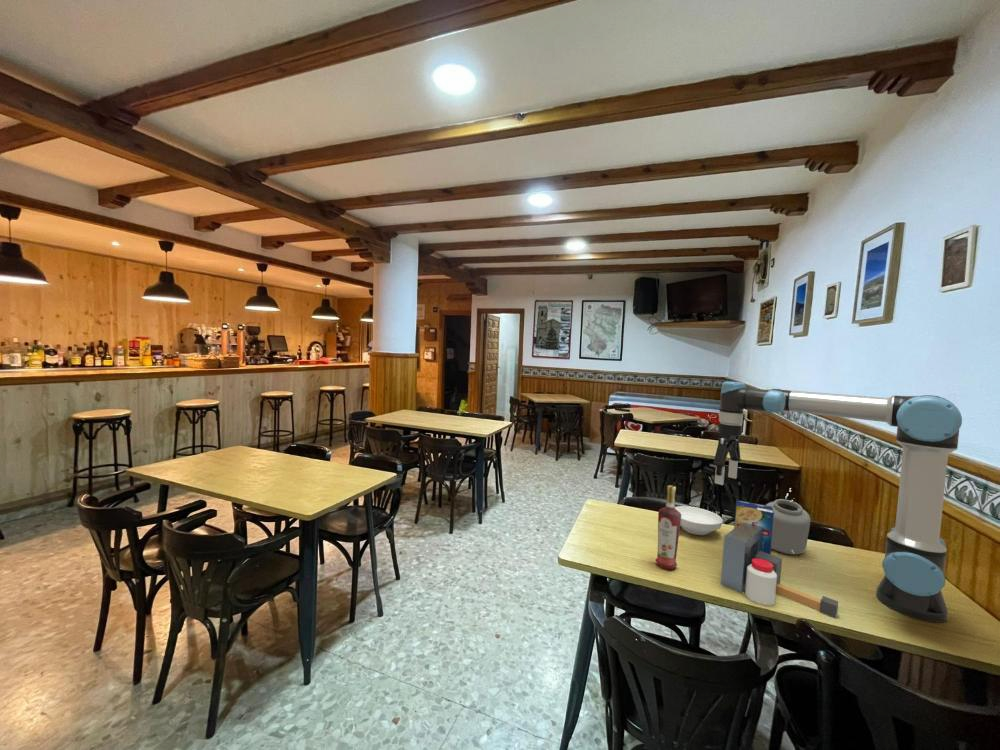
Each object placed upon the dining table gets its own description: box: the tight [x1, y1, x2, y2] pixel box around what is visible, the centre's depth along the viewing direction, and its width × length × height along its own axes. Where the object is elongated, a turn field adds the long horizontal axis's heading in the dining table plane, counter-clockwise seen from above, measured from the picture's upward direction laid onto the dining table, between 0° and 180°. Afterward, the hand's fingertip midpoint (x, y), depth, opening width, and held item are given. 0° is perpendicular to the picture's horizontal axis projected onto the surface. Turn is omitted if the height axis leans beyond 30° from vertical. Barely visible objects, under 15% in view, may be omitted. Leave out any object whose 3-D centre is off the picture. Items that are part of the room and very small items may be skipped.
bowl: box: [675, 505, 723, 536], centre depth 170 cm, size 20×20×7 cm
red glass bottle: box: [655, 484, 681, 570], centre depth 139 cm, size 7×7×28 cm
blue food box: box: [733, 499, 774, 554], centre depth 142 cm, size 7×11×22 cm, turn 60°
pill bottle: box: [744, 558, 777, 607], centre depth 123 cm, size 8×8×11 cm
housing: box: [720, 523, 764, 594], centre depth 134 cm, size 6×20×16 cm, turn 132°
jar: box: [764, 487, 811, 562], centre depth 156 cm, size 19×15×25 cm
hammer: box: [755, 551, 839, 619], centre depth 123 cm, size 20×6×10 cm, turn 42°
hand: (725, 480), depth 148 cm, fingers open, 13 cm apart
